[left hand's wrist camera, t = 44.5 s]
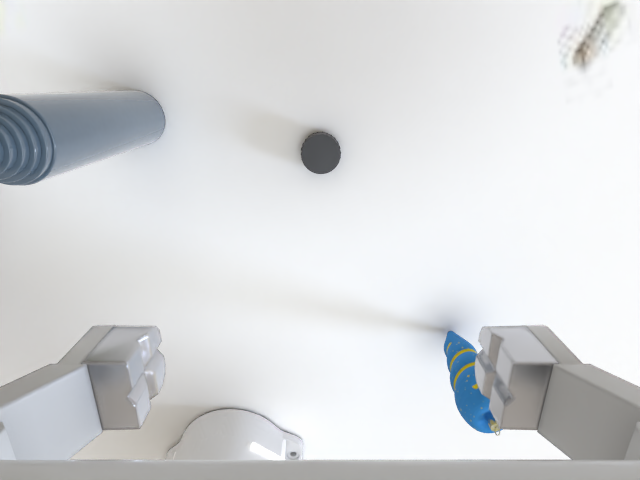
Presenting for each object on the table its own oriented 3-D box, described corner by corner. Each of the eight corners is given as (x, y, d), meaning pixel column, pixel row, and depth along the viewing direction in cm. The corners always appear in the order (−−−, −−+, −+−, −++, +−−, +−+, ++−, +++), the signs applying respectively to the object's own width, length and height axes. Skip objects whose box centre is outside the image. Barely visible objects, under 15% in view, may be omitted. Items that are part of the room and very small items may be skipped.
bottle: (175, 116, 41) (14, 151, 19) (146, 155, 42) (-36, 228, 21) (131, 78, 40) (-95, 70, 18) (102, 120, 41) (-140, 158, 20)
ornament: (477, 319, 49) (540, 414, 35) (463, 355, 51) (518, 458, 37) (435, 312, 49) (482, 404, 34) (422, 348, 50) (462, 449, 36)
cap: (300, 132, 42) (299, 134, 40) (339, 130, 41) (340, 133, 40) (302, 171, 43) (301, 175, 41) (340, 169, 43) (341, 173, 41)
